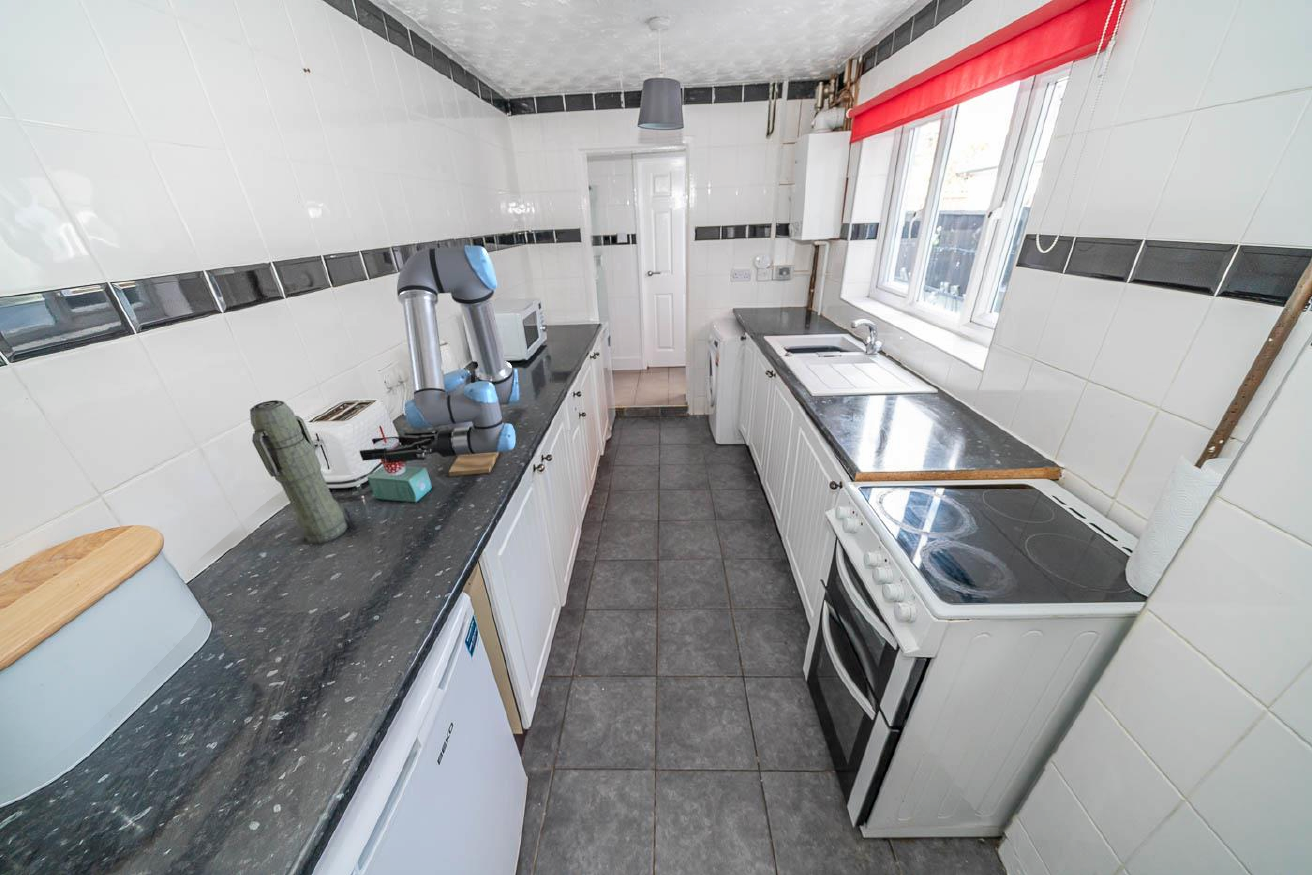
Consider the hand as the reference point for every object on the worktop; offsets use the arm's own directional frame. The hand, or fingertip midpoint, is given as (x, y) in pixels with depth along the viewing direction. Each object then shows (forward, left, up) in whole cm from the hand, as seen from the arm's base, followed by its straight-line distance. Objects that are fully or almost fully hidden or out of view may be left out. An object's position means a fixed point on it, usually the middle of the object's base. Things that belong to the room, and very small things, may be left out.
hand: (368, 449), depth 121 cm
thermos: (+15, -8, -15) cm, 23 cm away
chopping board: (-17, +21, -15) cm, 31 cm away
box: (0, +5, -15) cm, 16 cm away
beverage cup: (0, +5, -8) cm, 9 cm away
